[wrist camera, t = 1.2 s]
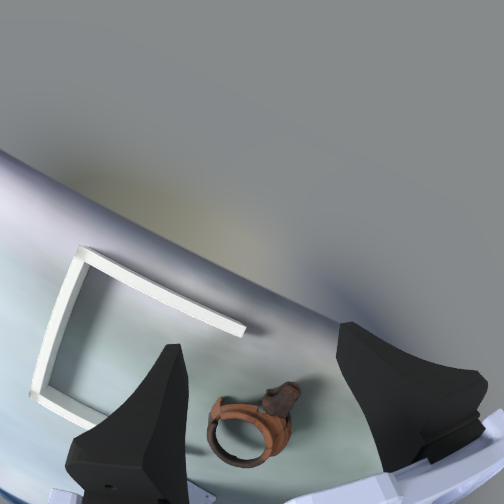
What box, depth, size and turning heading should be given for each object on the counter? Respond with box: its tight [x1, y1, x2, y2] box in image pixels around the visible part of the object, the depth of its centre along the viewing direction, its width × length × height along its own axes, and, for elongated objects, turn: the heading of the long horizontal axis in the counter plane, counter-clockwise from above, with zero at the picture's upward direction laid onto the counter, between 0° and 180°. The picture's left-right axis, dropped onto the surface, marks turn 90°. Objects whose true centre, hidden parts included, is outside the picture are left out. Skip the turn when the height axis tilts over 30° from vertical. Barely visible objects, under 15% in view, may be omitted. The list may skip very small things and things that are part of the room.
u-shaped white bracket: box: [29, 245, 246, 430], centre depth 28 cm, size 18×18×3 cm
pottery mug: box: [207, 382, 301, 468], centre depth 30 cm, size 12×10×8 cm
